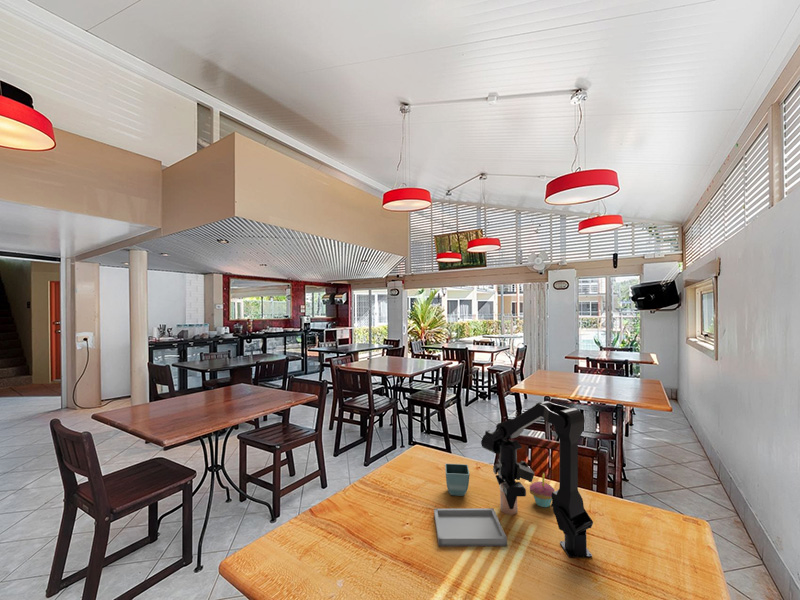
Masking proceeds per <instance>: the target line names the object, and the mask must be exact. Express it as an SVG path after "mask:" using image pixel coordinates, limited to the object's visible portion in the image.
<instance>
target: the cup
mask: <svg viewBox="0 0 800 600" xmlns="http://www.w3.org/2000/svg"><path fill="white" fill-rule="evenodd" d="M504 484H505V483H501V484H500V486H499V492H500V493H499V495H500V497H499V498H500V502H499V503H500V507H499V508H500V511H501V512H502V513H504V514H506V515H511V516H512V515H516V514H517V513H518V497H517V498H516V501H515V504H514V508H513V509H510V508H509V505H508V503H507V500H506V497H505V494H504V492H503V489H504Z"/></svg>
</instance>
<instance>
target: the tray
mask: <svg viewBox="0 0 800 600" xmlns="http://www.w3.org/2000/svg"><path fill="white" fill-rule="evenodd" d="M433 509H434V510H433V515H434V517H433V518H434V523H435V530H436V536H437V543H438V544H437V545H438V547H508V537H507V535H506V533H505V531H504V529H503V526H502V524H501V522H500V520H499V517H498V515H497V513H496V511H495V509H494V508H487V507H486V508H485V507H484V508H483V507H482V508H481V507H480V508H473V507H472V508H433Z"/></svg>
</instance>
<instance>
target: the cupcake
mask: <svg viewBox="0 0 800 600" xmlns="http://www.w3.org/2000/svg"><path fill="white" fill-rule="evenodd" d="M545 478H546V477H545V472H543V473H542V478H541V480H542V481H536V482H532V484H530V485H529V493H530V494H531V495H532V496H533V499H534V502H535V504H536V505H537V506H539V507H542V508H549V507H550V506H551V504H552V492H555V491H556V490H555V488H554V487H553V486H552V485H551V484H549V483H547V482H545Z"/></svg>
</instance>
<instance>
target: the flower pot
mask: <svg viewBox="0 0 800 600" xmlns="http://www.w3.org/2000/svg"><path fill="white" fill-rule="evenodd" d="M444 467H445V468H444V469H445V470H444V471H445V481H446V482H445V483H446V487H447V491H448V493H449V496H458V497H459V496H460V497H461V496H462V497H463V496H465V495H466V493H467V491H468V489H469V484H470V477H471V476H470V473H471V472H470V470H469V466H468V464H463V463H462V464H460V463H445V464H444Z"/></svg>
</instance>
